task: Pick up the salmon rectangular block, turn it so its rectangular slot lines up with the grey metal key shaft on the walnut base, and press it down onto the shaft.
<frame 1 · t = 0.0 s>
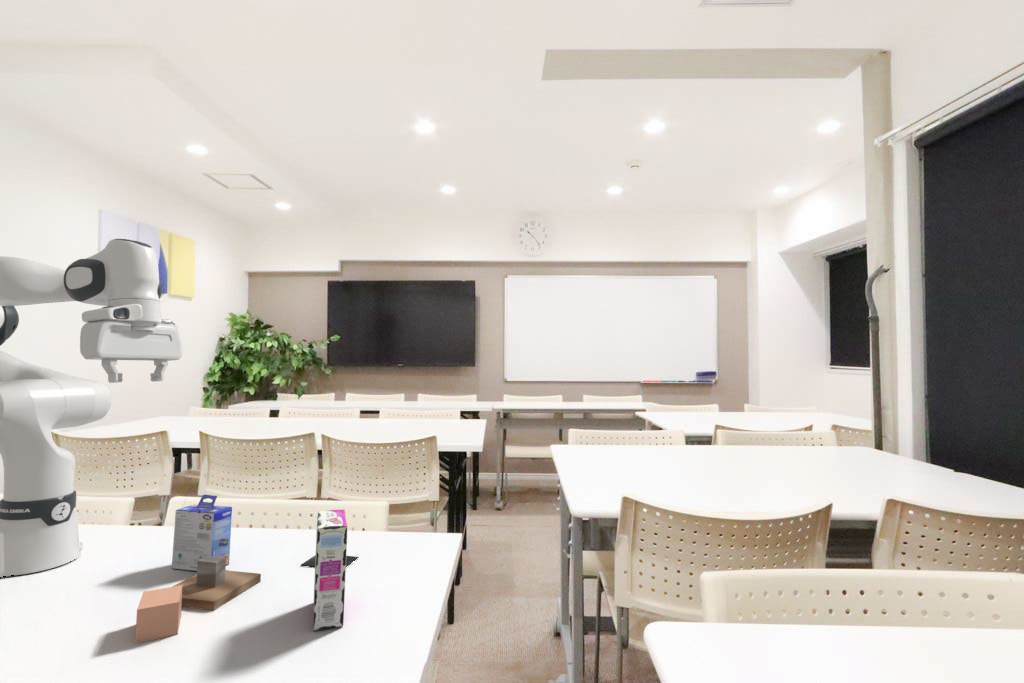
hand: (137, 381, 104), 39 cm above the table, tool pointing down, fingers open, 8 cm apart
candy bar box: (328, 615, 87), on the table
solid state drive: (330, 564, 109), on the table
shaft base: (210, 591, 94), on the table
ink cartridge box: (201, 567, 106), on the table
salmon rectangular block: (159, 628, 81), on the table
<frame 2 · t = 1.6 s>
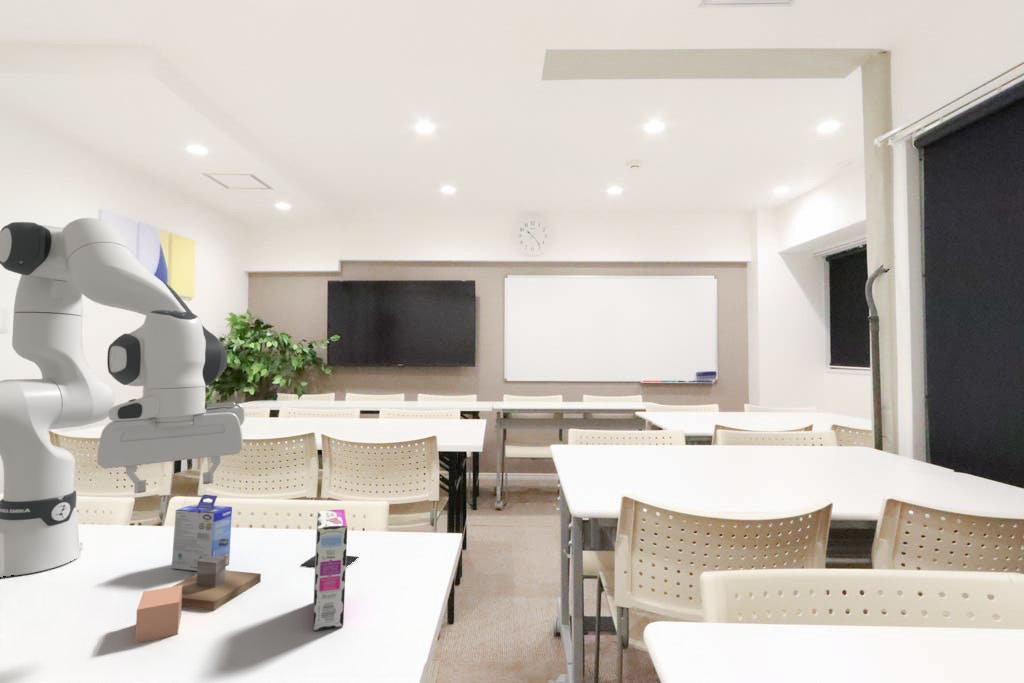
hand: (175, 487, 85), 22 cm above the table, tool pointing down, fingers open, 8 cm apart
nothing on the table moved.
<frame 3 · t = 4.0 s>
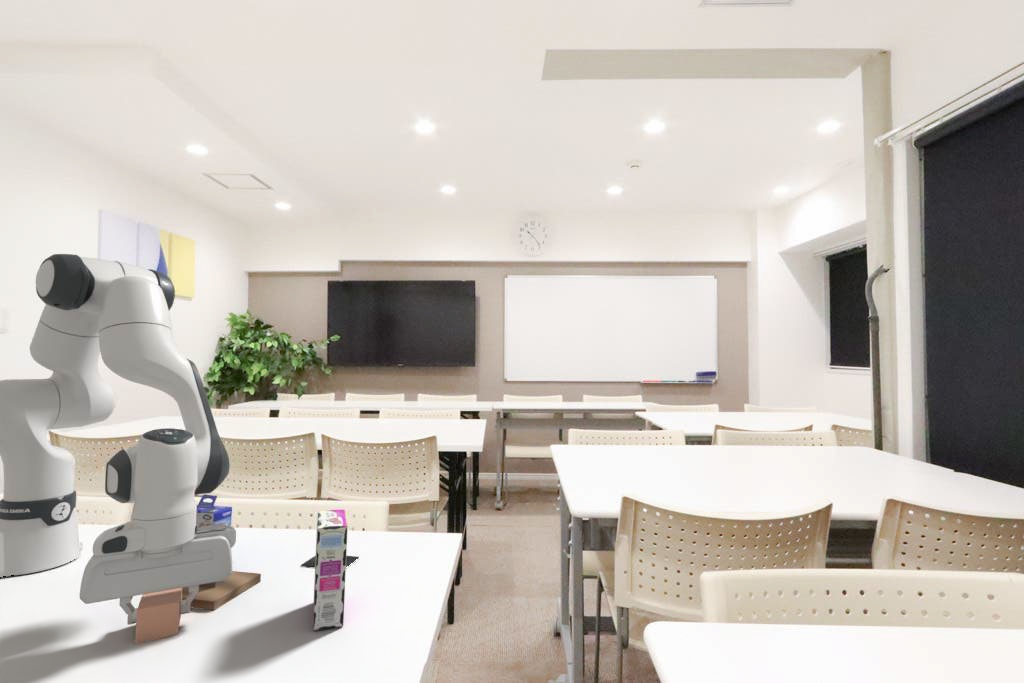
hand: (159, 617, 81), 2 cm above the table, tool pointing down, fingers closed on salmon rectangular block, 5 cm apart
salmon rectangular block: (159, 628, 81), on the table, touching gripper
everything else where it was.
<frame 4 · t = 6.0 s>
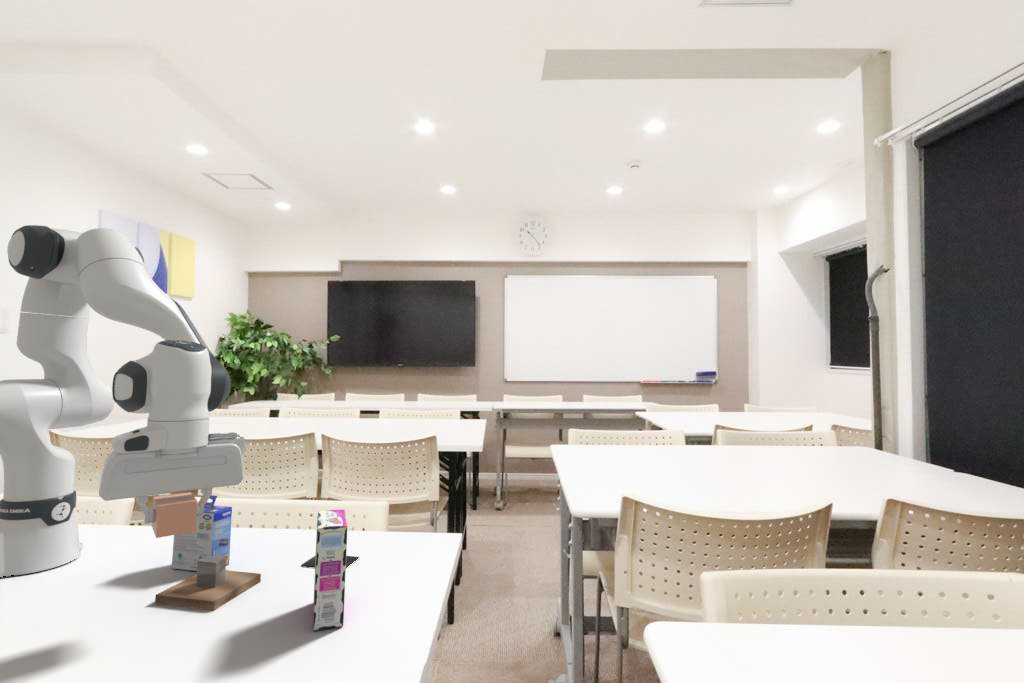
hand: (174, 518, 85), 17 cm above the table, tool pointing down, fingers closed on salmon rectangular block, 5 cm apart
salmon rectangular block: (173, 528, 85), point 15 cm above the table, touching gripper
everything else where it was.
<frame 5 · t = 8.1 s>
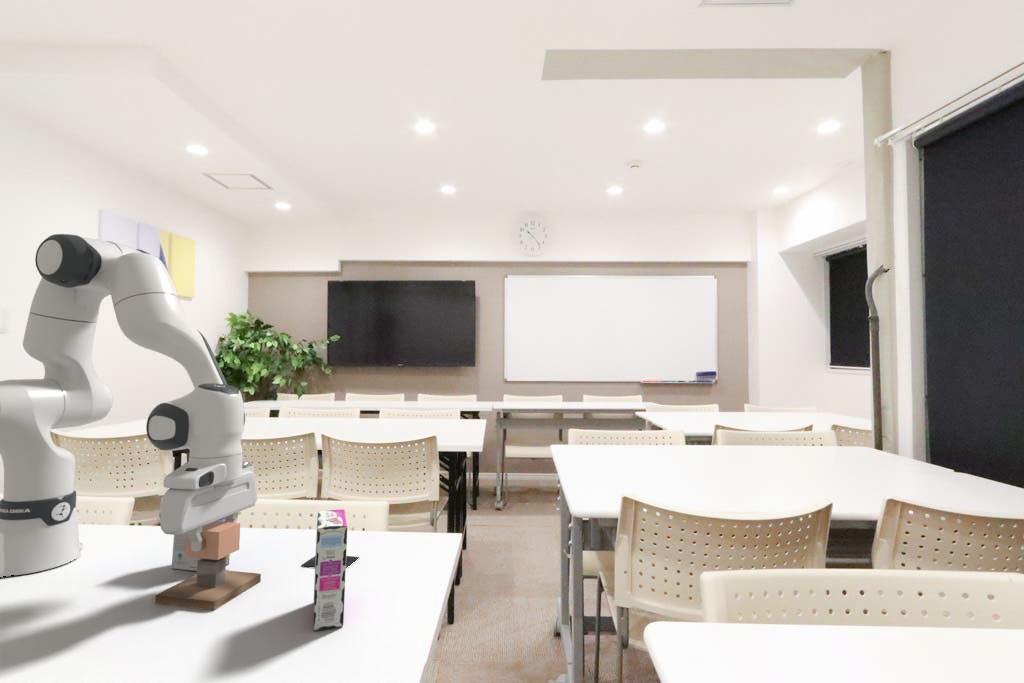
hand: (212, 543, 95), 9 cm above the table, tool pointing down, fingers closed on salmon rectangular block, 5 cm apart
salmon rectangular block: (212, 553, 95), point 7 cm above the table, touching gripper
everything else where it was.
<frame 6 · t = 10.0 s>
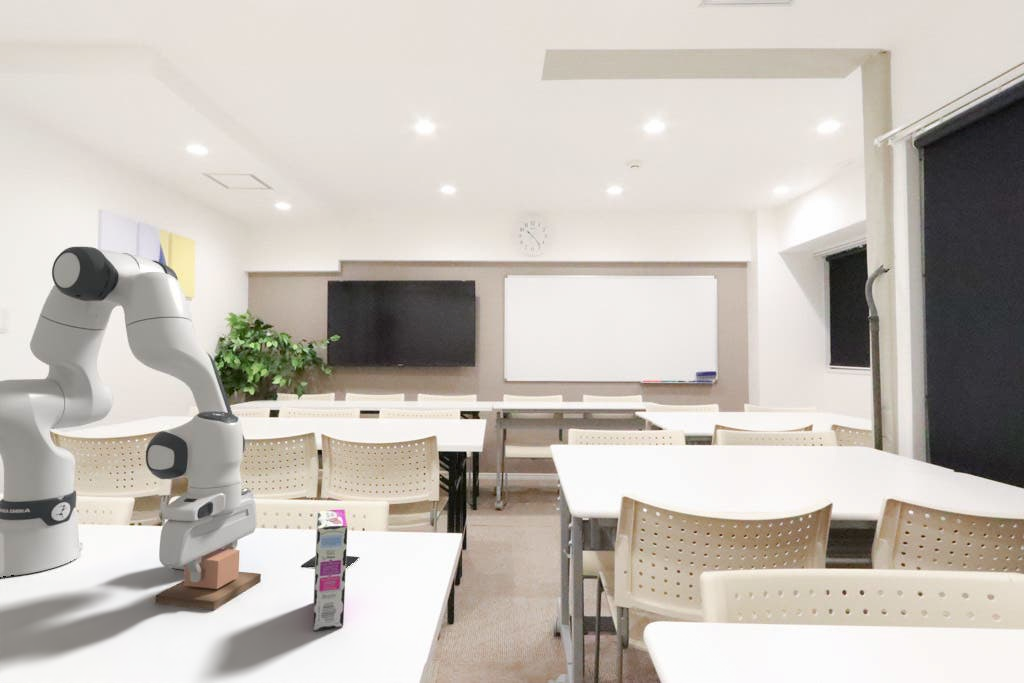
hand: (211, 573, 95), 3 cm above the table, tool pointing down, fingers closed on salmon rectangular block, 5 cm apart
salmon rectangular block: (211, 581, 95), point 2 cm above the table, touching gripper, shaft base
everything else where it was.
when the fingers open (3 cm above the table, at t = 10.5 s): salmon rectangular block stays where it is, resting on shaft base.
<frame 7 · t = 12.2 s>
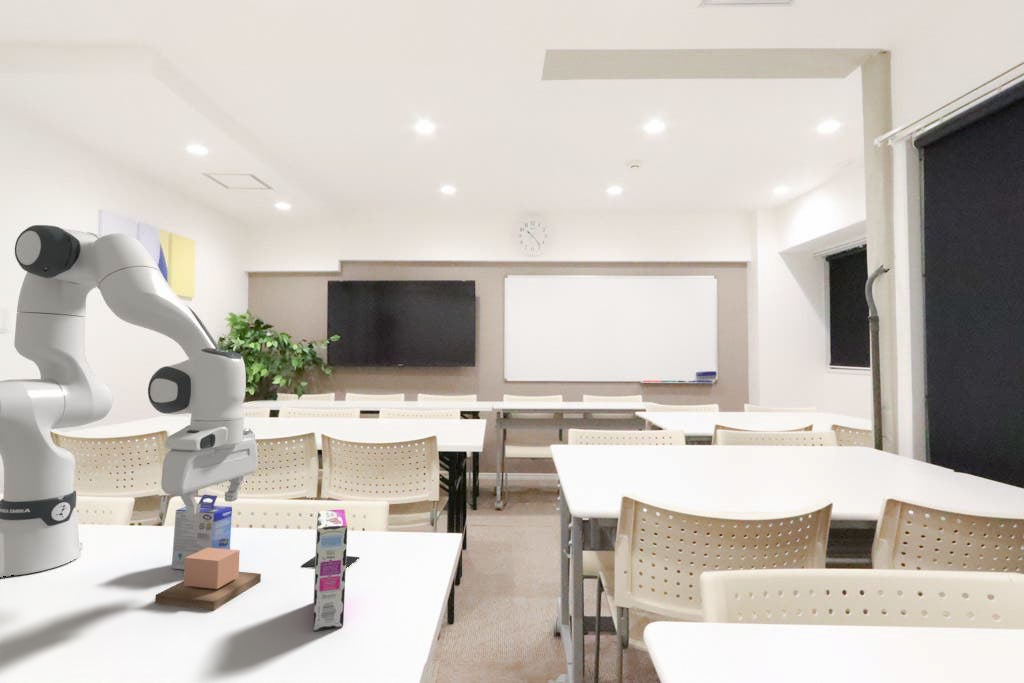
hand: (212, 507, 95), 16 cm above the table, tool pointing down, fingers open, 8 cm apart
salmon rectangular block: (211, 581, 95), point 2 cm above the table, touching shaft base
everything else where it was.
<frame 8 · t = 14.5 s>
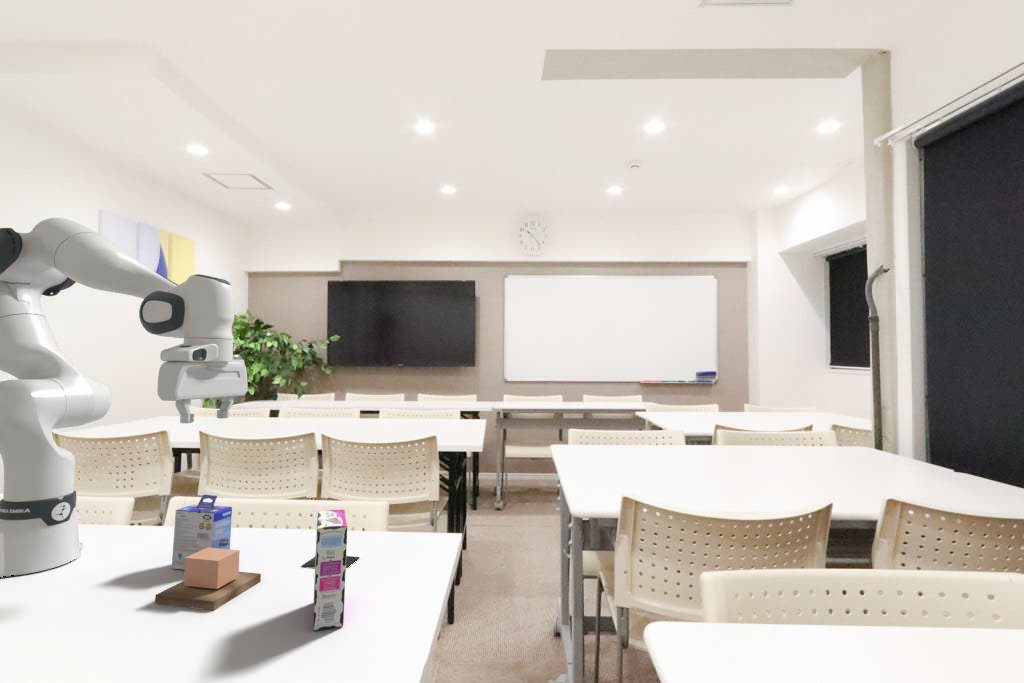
hand: (205, 420, 103), 31 cm above the table, tool pointing down, fingers open, 8 cm apart
nothing on the table moved.
at the end: salmon rectangular block 0.1 cm off-centre on the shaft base, point 2.0 cm above the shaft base's base; salmon rectangular block tilted 0°; the gripper is holding nothing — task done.
